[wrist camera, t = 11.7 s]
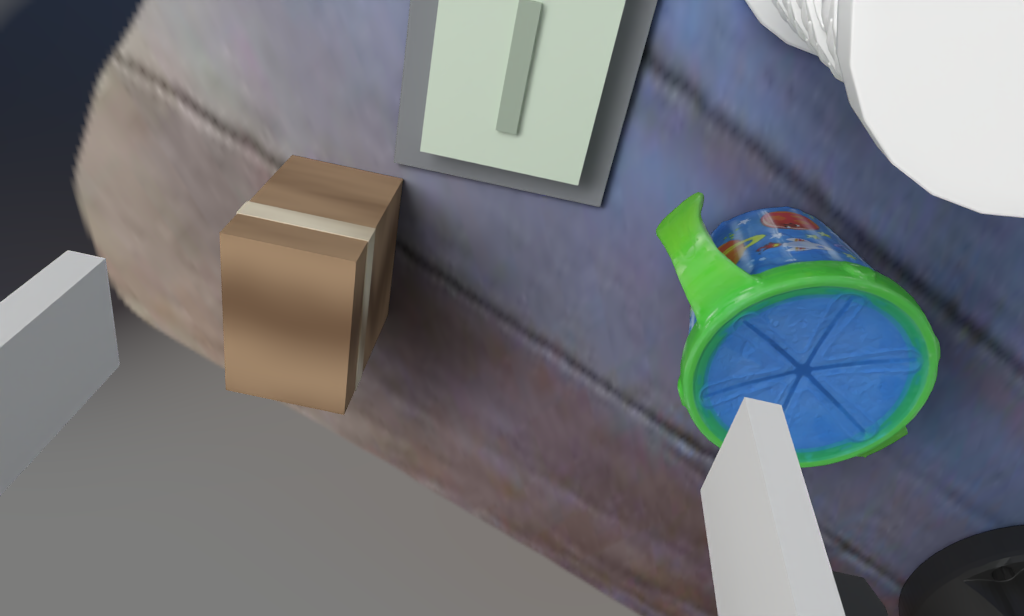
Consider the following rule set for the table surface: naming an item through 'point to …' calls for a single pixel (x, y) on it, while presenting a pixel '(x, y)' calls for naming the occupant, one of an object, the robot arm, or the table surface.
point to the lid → (519, 82)
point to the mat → (586, 192)
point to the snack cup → (796, 332)
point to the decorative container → (927, 86)
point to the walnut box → (308, 282)
